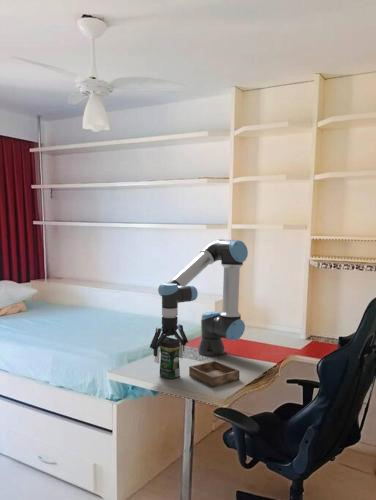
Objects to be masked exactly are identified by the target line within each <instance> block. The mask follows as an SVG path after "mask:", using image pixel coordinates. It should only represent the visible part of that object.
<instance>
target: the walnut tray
mask: <svg viewBox="0 0 376 500" xmlns="http://www.w3.org/2000/svg"><path fill="white" fill-rule="evenodd" d="M188 368H189V370H188V371H189V372H188V373H189V374H188V375H189V376H188V377H191V378H193V379H195V380H197V381H199V382H201V383H202V384H204V385H206V386H208V387H210V388H212V389H213V388H217V387H221V386H223V385H227V384H231V383H235V382H238V381H240V370H239V369H237V368H235V367H233V366H230V365H228V364H225V363H223V362H220V361H217V360H211V361H207V362H203V363H198V364H194V365H190V366H189V367H188Z"/></svg>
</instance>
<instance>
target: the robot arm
mask: <svg viewBox="0 0 376 500" xmlns="http://www.w3.org/2000/svg"><path fill="white" fill-rule="evenodd" d="M248 255H249V254H248V247H247V245H246V244H245V242H244V241H242V240H238V239H216V240H215V241H212V242H210V243H209V244H208V245H206V246H204V248H202V249H201V250H200V252H199V255H197V256H196V257H195V258H193V260H192V261H190V262H189V263H188V264H187V265H186V266H185V267H184V268H183V269H181V270H180V271H179V272H178V273H177V274H176V275H175V276H174V277H172V279H171V280H169V281H168V282H163V283H160V284H159V286H158V289H157V291H158V294H159V296H160V297H161V327H158V326H157V327H155V333H154V336H153V338H152V341H151V343H150V345H149V348H150V349H152V350H153V357H154V362H155V363H156V364H159V365H160V345H161V343H162V342H163V340H164V339H165V338H166V337H171V336H172V337H174V338H175V339H178V340H179V341H180V349H179V359H184V352H185V346H186V344H188V343H189V340H188V337H187V335H186V333H185V331H184V326H183V325H182V324H181V323H180V324H178V312H179V311H178V308H179V306H178V304H179V303H186V302H189V303H190V302H193V301H196V300H197V298H198V295H199V294H198V293H199V292H198V289H197V287H195V286H194V285H188V284H190V283H191V282H192V281H193V280H194V279H195V278H196V277H197V276H198V275H199V274H200V273H202V271H204V270H205V269H206V268H207V267H208V266H210V265H213V264H214V263H215V262H217V261H220V262H221V264H220V265H221V266H222V268H223V281H222V283H223V284H222V286H223V287H222V288H223V289H222V310H221V311H209V312H208V311H207V312H203V313H202V315H201V320H200V321H201V322H200V324H201V326H200V328H201V329H200V331H201V334H200V336H201V337H200V341H199V346H198V348H197V349H198V352H197V353H198V354H199V355H202V356H208V357H216V356H222V355H224V354H225V352H226V350H225V349H226V348H225V346H224V342H223V339H225V340H226V339H227V340H228V341H230V340H231V341H237V340H239V339H241V338H242V336H243V335H244V333H245V330H246V329H245V328H246V324H245V322H244V320H242V319H241V318H242V317H241V315H242V314H241V313H240V312H239V298H240V297H239V296H240V295H239V294H240V274H241V273H240V272H241V271H240V270H241V269H240V268H242V266H243V265H244V262H245V261H246V260H247V258H248ZM178 332H179V333H178ZM179 334H180V335H179ZM222 338H223V339H222Z"/></svg>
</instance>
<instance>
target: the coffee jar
mask: <svg viewBox="0 0 376 500" xmlns="http://www.w3.org/2000/svg"><path fill="white" fill-rule="evenodd" d="M180 344H181V343H180V341H179V340H178V339H177V338H173V337H170V336H167V337H166V338H165V339H164V340H163V342H162V343H161V345H160V346H159V352H160V358H159V375H160V376H161V377H162V378H165V379H169V380H173V379H177V378H179V377H180V375H181V373H180V371H181V370H180V358H179V349H180Z"/></svg>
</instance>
